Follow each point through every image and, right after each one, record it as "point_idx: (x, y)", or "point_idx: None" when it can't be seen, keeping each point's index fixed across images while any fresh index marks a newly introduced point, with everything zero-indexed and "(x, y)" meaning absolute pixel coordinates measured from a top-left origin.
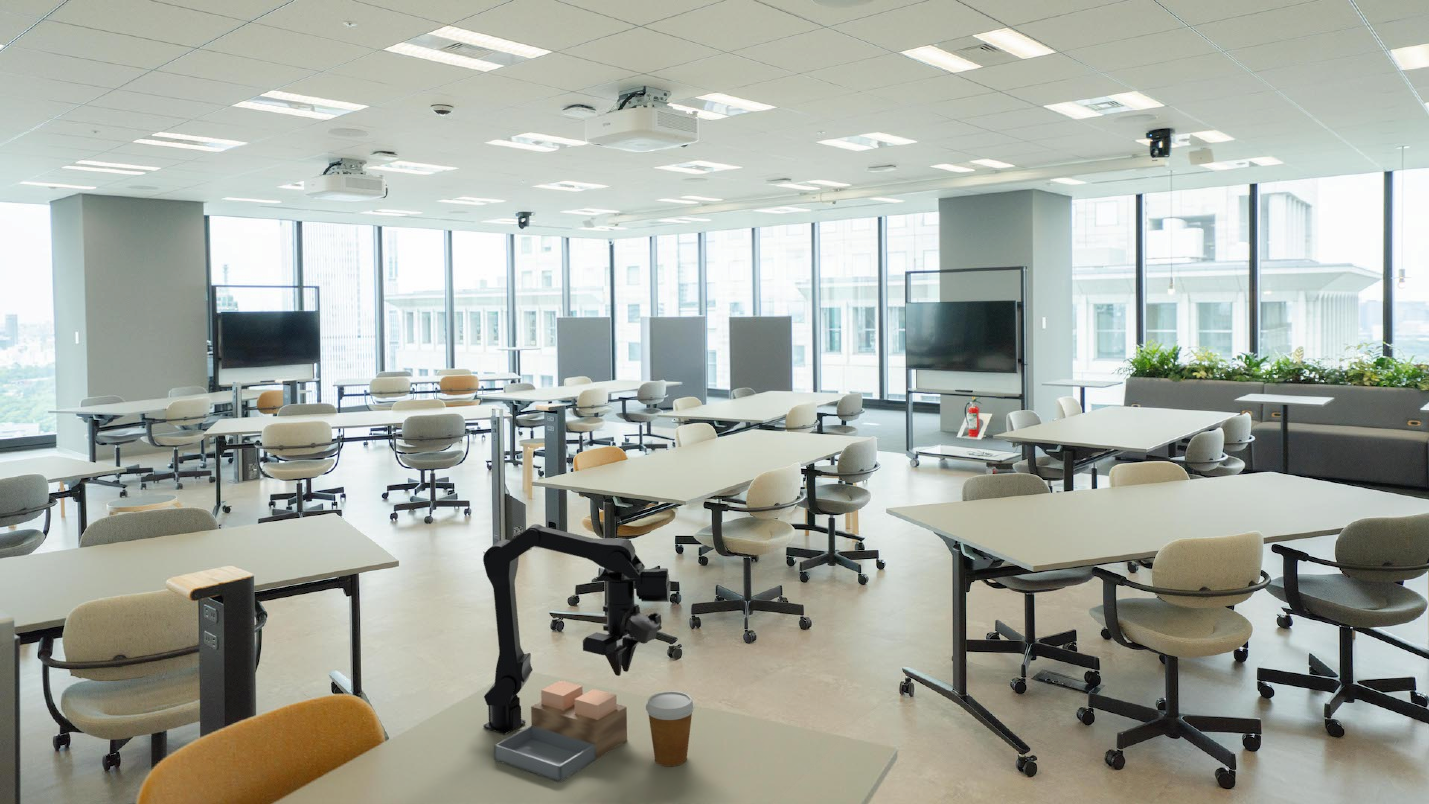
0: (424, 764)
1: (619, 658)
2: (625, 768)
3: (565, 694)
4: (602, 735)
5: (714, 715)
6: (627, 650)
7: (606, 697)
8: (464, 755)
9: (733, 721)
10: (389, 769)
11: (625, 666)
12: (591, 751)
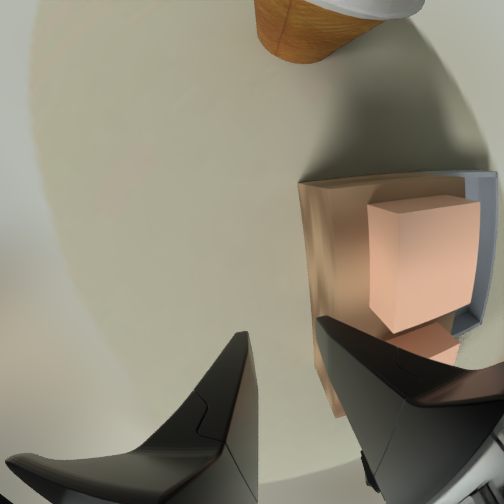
0: (483, 353)
1: (417, 364)
2: (393, 91)
3: (452, 348)
4: (416, 175)
5: (50, 131)
6: (240, 448)
7: (433, 228)
8: (463, 349)
9: (52, 80)
10: (492, 361)
11: (251, 359)
12: (434, 172)
